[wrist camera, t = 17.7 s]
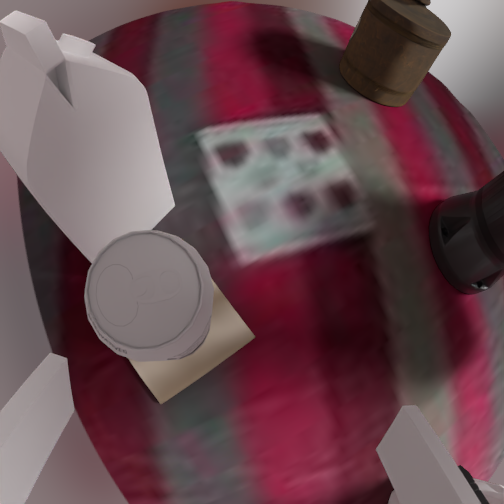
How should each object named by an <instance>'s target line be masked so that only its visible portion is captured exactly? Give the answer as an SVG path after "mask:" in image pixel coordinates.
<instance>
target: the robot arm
mask: <svg viewBox="0 0 504 504" xmlns="http://www.w3.org/2000/svg"><path fill="white" fill-rule="evenodd" d="M429 236H430V243H431V248H432V252H433V255H434V258H435V260H436V262H437V265H438V267H439V269H440V270H441V272H442V274H443V275H444V276H445V278H446V279H447V280H448V281H449V283H450V284H451V285H452V286H454V287H455V288H456V289H457V290H459V291H461V292H463V293H466V294H476V293H479V292H482V291H485V290H487V289H489V288H490V287H492V286H493V285H494V284H495V283H496V282H497V281H498V280H499V279H500V278H501V277H502V276H503V275H504V171H503V172H502V173H500V174H499V175H498V176H497V177H495V178H494V179H493V180H491V181H490V182H489V183H487V184H486V185H485V186H483V187H482V188H481V189H479V190H478V191H474V192H469V193H465V194H461V195H456V196H452V197H450V198H448V199H446V200H445V201H444V202H442V203H441V204H440V205H438V206H437V207H436V208H435V210H434V211H433V213H432V216H431V219H430V225H429ZM73 412H74V404H73V398H72V392H71V386H70V378H69V371H68V362H67V358H65V357H62V356H59V355H56V354H53V353H51V352H50V353H49V354H48V355H47V356H46V358H45V359H44V360H43V361H42V362H41V363H40V364H39V366H38V367H37V368H36V369H35V370H34V371H33V372H32V374H31V375H30V376H29V377H28V378H27V379H26V381H25V382H24V383H23V384H22V385H21V387H20V388H19V389H18V390H17V391H16V393H15V394H14V395H13V396H12V397H11V399H10V400H9V401H8V402H7V404H6V405H5V406H4V407H3V409H2V410H1V411H0V504H25V502H26V500H27V498H28V496H29V494H30V492H31V490H32V488H33V486H34V484H35V482H36V480H37V478H38V476H39V474H40V472H41V470H42V468H43V466H44V464H45V463H46V460H47V459H48V457H49V455H50V453H51V451H52V450H53V448H54V446H55V444H56V442H57V440H58V439H59V437H60V435H61V433H62V431H63V430H64V428H65V426H66V424H67V423H68V421H69V419H70V417H71V415H72V414H73ZM376 451H377V453H378V455H379V457H380V459H381V461H382V464H383V466H384V468H385V470H386V472H387V475H388V477H389V479H390V481H391V483H392V486H393V488H394V490H395V492H396V495H397V497H398V499H399V501H400V504H489V502H488V501H487V499H486V498H485V496H484V495H483V493H482V491H481V490H479V487H478V485H477V484H476V483H475V481H474V479H473V478H472V476H471V475H470V473H469V472H468V471H467V470H466V469H464V468H463V467H462V466H461V465H460V466H457V465H456V463H455V461H454V460H453V458H452V457H451V455H450V454H449V452H448V451H447V449H446V448H445V446H444V445H443V443H442V442H441V440H440V439H439V437H438V436H437V434H436V433H435V431H434V430H433V429H432V427H431V426H430V424H429V423H428V421H427V420H426V418H425V417H424V415H423V414H422V412H421V411H420V410H419V408H418V407H417V405H407V406H402V408H401V409H400V411H399V413H398V415H397V416H396V418H395V420H394V421H393V423H392V425H391V426H390V428H389V430H388V431H387V433H386V434H385V436H384V438H383V439H382V441H381V442H380V444H379V445H378V447H377V448H376Z"/></svg>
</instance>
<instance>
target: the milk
mask: <svg viewBox="0 0 504 504" xmlns="http://www.w3.org/2000/svg"><path fill="white" fill-rule="evenodd" d="M0 27H1V31H2V34H3V38H4V41H5V44H6V48H5V50H4V52H3V54H2V56H1V59H0V151H1V152H2V154H3V155H4V157H5V158H6V160H7V161H8V162H9V164H10V165H11V167H12V168H13V170H14V171H15V172H16V174H17V175H18V177H19V178H20V179H21V181H22V182H23V183H24V185H25V186H26V187H27V189H28V190H29V191H30V193H31V194H32V195H33V196H34V198H35V199H36V200H37V202H38V203H39V204H40V205H41V207H42V208H43V209H44V210H45V212H46V213H47V214H48V215H49V217H50V218H51V219H52V220H53V221H54V222H55V224H56V225H57V226H58V227H59V228H60V229H61V230H62V232H63V233H64V234H65V235H66V236H67V237H68V238H69V239H70V241H71V242H72V243H73V244H74V245H75V246H76V247H77V248H78V249H79V250H80V251H81V253H82V254H83V255H84V256H85V257H86V258H87V259H88V260H89V261H90V262H91V263H93V261H94V259H95V257H96V256H97V254H98V253H99V252H100V251H101V250H102V249H103V248H104V247H105V246H106V245H107V244H108V243H109V242H111V241H112V240H113V239H115V238H117V237H119V236H122V235H124V234H126V233H129V232H131V231H144V230H152V229H153V228H154V227H155V225H156V224H157V223H158V222H159V221H160V220H161V219H162V218H163V217H164V216H165V215H166V214H167V213H168V212H169V211H170V210H171V209H172V208H173V207H174V206H175V203H174V200H173V196H172V192H171V189H170V185H169V181H168V177H167V173H166V170H165V166H164V162H163V158H162V154H161V150H160V146H159V142H158V138H157V133H156V129H155V125H154V121H153V116H152V112H151V108H150V103H149V99H148V94H147V92H146V89H145V87H144V86H143V85H142V84H141V82H140V81H139V80H138V79H137V78H136V77H135V76H134V75H133V74H132V73H130V72H128V71H126V70H125V69H123V68H121V67H119V66H117V65H115V64H113V63H112V62H110V61H108V60H106V59H104V58H102V57H100V56H98V55H96V54H94V53H92V51H93V49H94V47H95V46H96V45H95V44H93V43H91V42H89V41H86V40H83V39H80V38H78V37H75V36H71V35H68V34H62V36H61V38H60V40H59V41H58V40H55V38H54V37H53V34H52V32H51V31H50V28H49V27H48V25H47V23H46V21H44V20H41V19H38V18H36V17H33V16H30V15H27V14H25V13H22V12H19V11H14V12H12V13H11V14H9V15H8V16H6V17H5V18H3V19H2V20H1V21H0Z"/></svg>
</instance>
